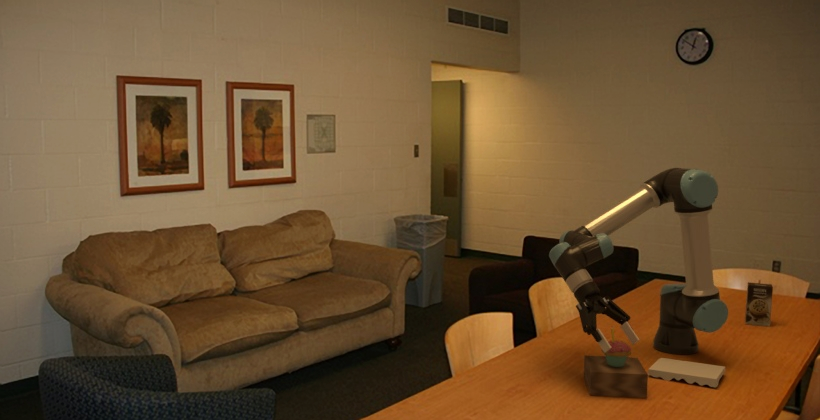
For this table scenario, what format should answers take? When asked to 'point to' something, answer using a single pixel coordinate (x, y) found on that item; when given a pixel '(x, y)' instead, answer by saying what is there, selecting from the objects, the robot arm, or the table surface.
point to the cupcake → (617, 352)
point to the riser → (615, 378)
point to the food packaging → (687, 371)
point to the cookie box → (758, 304)
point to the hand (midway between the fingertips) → (622, 346)
